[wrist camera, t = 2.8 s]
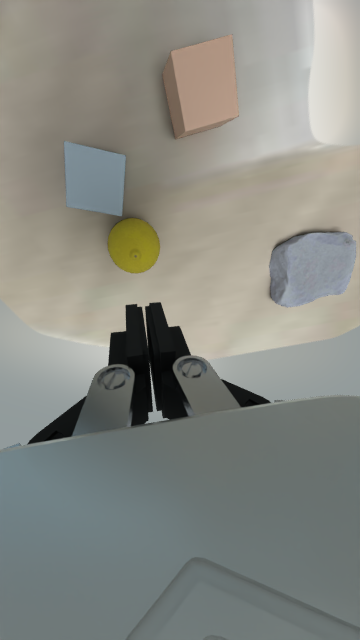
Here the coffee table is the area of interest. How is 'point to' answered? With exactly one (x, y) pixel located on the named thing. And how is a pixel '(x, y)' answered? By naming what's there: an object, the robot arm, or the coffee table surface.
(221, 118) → the terracotta block
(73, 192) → the slate block
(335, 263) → the stone block
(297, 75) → the coffee table surface
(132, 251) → the lemon
